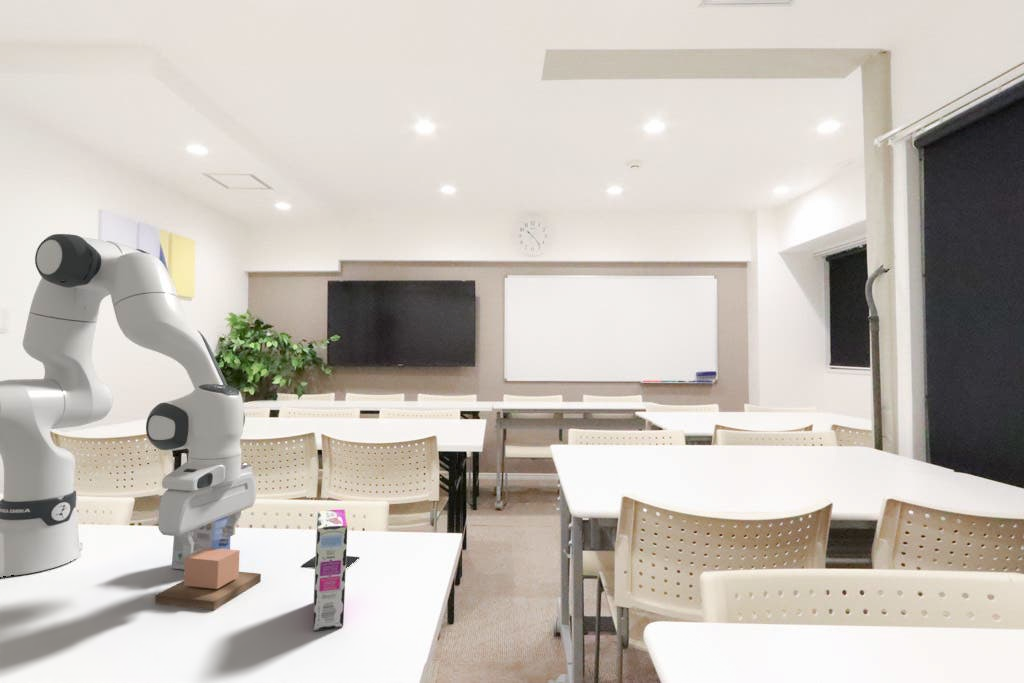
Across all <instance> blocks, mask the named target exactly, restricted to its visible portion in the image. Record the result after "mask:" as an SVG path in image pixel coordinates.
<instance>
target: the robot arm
mask: <svg viewBox="0 0 1024 683" xmlns="http://www.w3.org/2000/svg"><path fill="white" fill-rule="evenodd" d="M34 264H35V267H36V269H37V272H38V274H39V275H40V277H41V279H40V281H39V283H38V285H37V287H36V289H35V292H34V294H33V298H32V300H31V303H30V309H29V313H28V316H27V321H26V326H25V331H24V336H23V339H22V347H23V350H24V351H25V352H26V354H27V355H29V356H30V357H31V358H33V359H35V360H36V361H38V362H41V364H43V365H42V366H43V368H44V377H43V378H37V379H36V378H35V379H33V378H31V379H30V378H29V379H26V378H25V379H6V380H0V456H1V460H2V464H3V498H2V499H0V577H1V578H4V577H3V576H6V577H12V576H11V575H14V576H19V575H20V576H22V575H26V574H27V575H28V574H33V573H36V572H37V573H38V572H41V571H46V570H51V569H53V568H57V567H60V566H63V565H66V564H68V563H70V561H71V562H73V561H74V559H75V560H76V559H77V558H79V557H80V556H81V552H80V551H81V550H82V549H83V548H84V544H83V542H80V535H79V534H80V532H79V521H78V520H79V518H78V514H77V512H76V511H74V509H75V508H76V507H77V501H78V496H77V491H76V490H75V477H76V476H75V475H76V463H77V462H76V457H75V456H74V454H73V453H72V452H71V451H69V450H67V449H65V447H64V448H63V447H60V446H57V445H56V444H55V443H54V440H53V439H52V436H51V430H55V429H56V430H57V429H65V428H74V427H75V428H76V427H81V426H84V425H89V424H92V423H95V422H98V421H101V420H103V419H104V418H106V417H107V416H108V414H109V413H110V411H111V409H112V407H113V402H114V399H113V398H114V397H113V394H112V391H111V389H110V388H109V386H108V385H107V384H105V383H104V382H103V381H102V380H101V379H100V378H99V377H98V375H97V374H96V373H97V372H96V370H95V369H94V364H93V358H92V354H93V353H92V351H93V350H92V349H93V344H94V337H95V332H96V327H97V323H98V316H99V312H100V307H101V303H102V301H103V299H104V298H106V297H107V296H110V298H111V302H112V307H113V311H114V315H115V318H116V322H117V324H118V327H119V329H120V330H121V332H122V333H123V335H124V336H125V337H126V338H127V340H129V341H131V342H132V343H134V344H135V345H137V346H139V347H142V348H144V349H148V350H151V351H153V352H157V353H159V354H162V355H164V356H166V357H168V358H170V359H172V360H174V361H175V362H177V363H179V364H180V365H181V366H182V367H183V368H184V369H185V371H186V372H187V374H188V376H189V378H190V382H191V383H192V386H193V388H194V389H193V391H192V392H190V393H188V394H187V395H184V396H181V397H179V398H176V399H172V400H168V401H164V402H161V403H158V404H157V405H155V406H154V407H153V408H152V410H151V411H150V412H149V414H148V417H147V419H146V424H145V433H146V436H147V438H148V441H149V442H150V444H152V445H153V447H155V448H156V449H158V450H160V451H180V450H186V449H187V450H188V455H187V462H185V463H183V464H182V465H180V466H179V467H177V468H175V470H173V471H171V472H170V473H168V474H167V475H165V476H164V477H163V478H162V481H161V486H162V489H165V491H164V492H163V493H162V496H161V498H160V502H159V510H158V523H157V525H158V531H159V532H160V533H161V534H162V535H164V536H171V537H174V536H178V538H179V540H180V541H181V543H182V544H183V551H182V552H183V554H184V555H191V554H193V553H195V552H197V546H198V543H197V542H193V539H192V537H191V536H193V535H194V529H197V528H199V527H202V526H204V525H207V524H209V523H212V522H215V521H217V520H220V519H222V518H225V517H228V520H227V523H226V526H225V527H223V528H222V536H223V537H230V536H231V537H232V536H234V535H235V534H236V527H237V525H238V523H239V521H240V518H241V514H242V511H245V510H247V509H251V508H252V507H253V506H254V504H255V502H256V496H257V494H256V492H257V491H256V478H255V475H254V468H253V466H252V465H251V464H250V463H249V462H242V453H243V450H242V447H241V438H242V435H243V432H244V426H245V422H246V415H245V410H244V409H245V408H244V400H243V397H242V396H243V395H242V393H241V391H240V390H238V389H237V388H236V387H234V386H231V385H228V383H227V380H226V378H225V376H224V374H223V372H222V370H221V368H220V366H219V363H218V361H217V359H216V357H215V355H214V352H213V351H212V349H211V347H210V345H209V342H208V340H207V339H206V337H205V336H204V335H203V334H202V332H200V331H199V330H198V329H197V328H196V327H195V326H194V324H193V323H192V321H190V319H189V318H188V316H187V314H186V313H185V311H184V308H183V307H182V304H181V301H180V298H179V295H178V291H177V289H176V287H175V285H174V282H173V280H172V277H171V275H170V274H169V272H168V269H167V268H166V266H165V264H164V263H163V262H162V260H161V259H159V258H158V257H156V256H155V255H153V254H151V253H149V252H147V251H146V250H143V249H138V248H133V247H130V246H128V245H123V244H120V243H118V242H114V241H109V240H106V241H105V240H102V239H95V238H89V237H81V236H79V235H76V234H70V233H55V234H51V235H49V236H47V237H46V238H45V239H44V240H43V241H41V242H40V243H39V245H38V247H37V249H36V252H35V256H34ZM231 537H230V538H231ZM82 547H83V548H82ZM81 548H82V549H81ZM80 549H81V550H80ZM79 555H80V556H79Z"/></svg>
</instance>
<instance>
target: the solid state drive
mask: <svg viewBox="0 0 1024 683" xmlns="http://www.w3.org/2000/svg"><path fill="white" fill-rule="evenodd" d="M315 558H316V555H315V556H313V557H312V558H310V559H309V560H307V561H306V562H304V563H303V564H301V567H302V568H307V567H315ZM359 558H360V557H359V556H351V555H346V568H347V567H349V566H350V565H351V564H352V563H354V562H355V561H356V560H357V559H359ZM360 559H361V558H360ZM360 559H359V560H360ZM356 562H357V561H356ZM356 562H355V563H356ZM355 563H354V564H355ZM351 566H352V565H351ZM351 566H350V567H351ZM350 567H349V568H350ZM347 569H348V568H347Z"/></svg>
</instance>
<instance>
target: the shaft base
mask: <svg viewBox="0 0 1024 683" xmlns="http://www.w3.org/2000/svg"><path fill="white" fill-rule="evenodd" d="M261 576H262V574H261V573H257V572H248V571H247V572H246V571H239V576H238V577H237V578H236V579H234V580H232V581H230V582H229V583H227V584H225V585H223V586H222V587H220V588H218V589H213V588H203V587H194V586H185V585H184V580H183V581H180V582H178V583H176V584H174V585H172V586H171V587H169V588H166V589H165V590H163V591H160V592H158V593H156V594H155V599H154V600H155V602H154V604H158V605H166V606H173V607H175V606H176V607H181V608H182V607H183V608H191V609H199V610H210V611H215V610H218V609H219V608H221V607H222V606H224V605H225V604H227V603H228V602H230V601H232V600H233V599H235V598H236V597H238V596H240V595H241V594H243V593H244V592H246V591H248V590H249V589H250V588H252V587H254V586H256V585H258V584H259V583H261V580H262V579H261Z"/></svg>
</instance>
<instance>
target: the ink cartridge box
mask: <svg viewBox="0 0 1024 683" xmlns="http://www.w3.org/2000/svg"><path fill="white" fill-rule="evenodd" d="M227 520H228V517H225V518H222V519H220V520H217V521H215V522H212V523H209V524H207V525H204V526H202V527H199V528H197V529H194V535H193V536H191V537H192V539H193V542H197V543H198V546H197V552H199V551H201V550H203V549H205V548H219V549H231V537H232V536H230V537H223V536H222V528H223V527H225V526H226V523H227ZM182 551H183V544H182V543H181V541H180V540H179V538H178V536H173V546H172V556H171V557H172V558H171V569H173V570H175V569H176V570H184V571H185V558H186V557H188V556H190V555H184V554H183V552H182ZM197 552H195V553H197ZM193 554H194V553H193ZM191 555H192V554H191Z"/></svg>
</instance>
